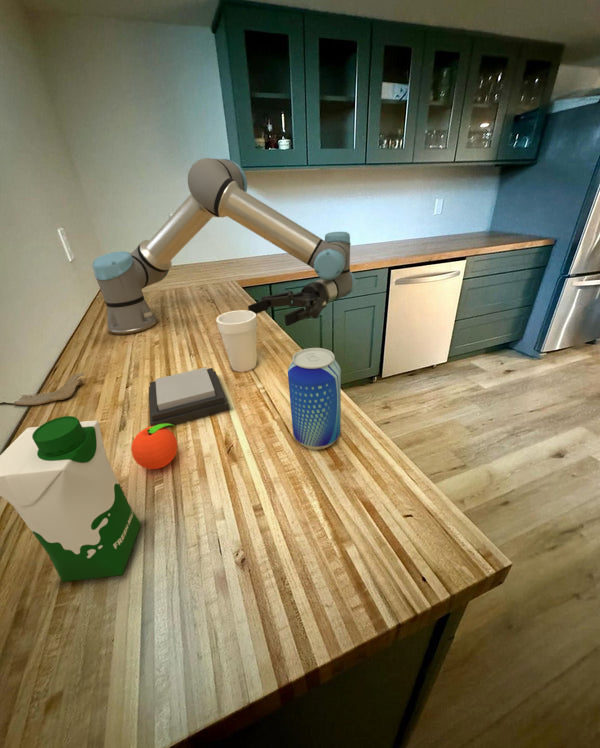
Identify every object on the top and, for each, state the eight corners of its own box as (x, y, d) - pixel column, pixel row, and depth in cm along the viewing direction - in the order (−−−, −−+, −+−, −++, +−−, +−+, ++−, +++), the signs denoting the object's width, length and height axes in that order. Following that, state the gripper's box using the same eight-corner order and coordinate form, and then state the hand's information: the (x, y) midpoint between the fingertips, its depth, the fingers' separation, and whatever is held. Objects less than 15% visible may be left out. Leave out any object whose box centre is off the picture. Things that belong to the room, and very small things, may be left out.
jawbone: (88, 396, 78) (84, 389, 76) (-22, 428, 70) (-28, 420, 69) (87, 377, 84) (84, 370, 83) (-13, 404, 77) (-18, 397, 75)
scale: (150, 393, 76) (147, 381, 75) (216, 377, 81) (214, 366, 80) (152, 431, 64) (148, 418, 63) (229, 409, 69) (227, 397, 67)
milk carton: (127, 582, 40) (56, 456, 30) (49, 591, 39) (-51, 467, 29) (150, 517, 47) (99, 400, 37) (84, 525, 47) (15, 408, 37)
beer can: (345, 425, 62) (345, 347, 54) (334, 457, 55) (333, 373, 47) (302, 418, 65) (296, 343, 57) (286, 447, 58) (278, 366, 50)
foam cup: (255, 375, 80) (248, 324, 74) (219, 373, 82) (209, 324, 76) (266, 357, 88) (261, 310, 82) (233, 356, 90) (225, 309, 84)
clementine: (172, 440, 62) (162, 408, 58) (195, 455, 58) (185, 423, 54) (130, 466, 56) (116, 433, 53) (152, 485, 52) (138, 451, 49)
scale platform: (157, 385, 74) (155, 378, 73) (207, 373, 78) (205, 367, 77) (159, 412, 65) (157, 404, 64) (216, 397, 69) (214, 390, 68)
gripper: (353, 313, 94) (304, 339, 81) (288, 299, 109) (238, 320, 96) (354, 287, 90) (302, 309, 77) (286, 276, 105) (233, 294, 92)
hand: (266, 315), depth 86 cm, fingers open, 13 cm apart
